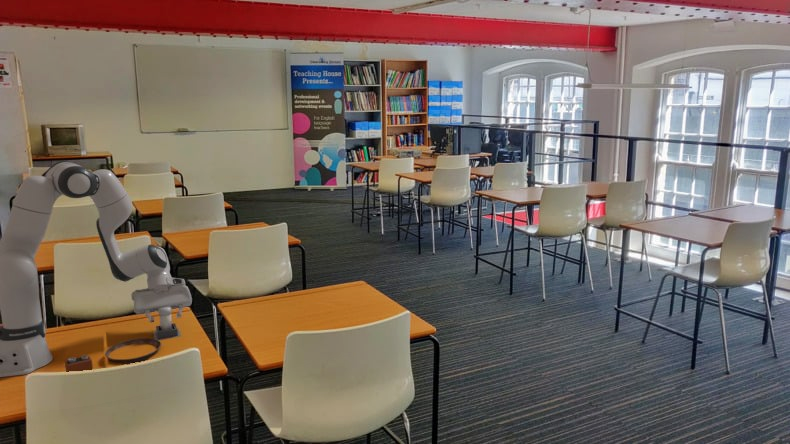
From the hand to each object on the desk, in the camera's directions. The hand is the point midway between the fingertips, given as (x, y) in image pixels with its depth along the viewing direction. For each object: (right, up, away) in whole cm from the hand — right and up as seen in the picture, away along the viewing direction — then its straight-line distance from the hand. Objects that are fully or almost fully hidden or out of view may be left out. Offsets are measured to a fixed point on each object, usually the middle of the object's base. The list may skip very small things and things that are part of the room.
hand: (165, 319), depth 218 cm
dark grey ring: (-5, -11, -14) cm, 18 cm away
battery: (-11, -15, -37) cm, 41 cm away
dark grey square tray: (0, -7, +2) cm, 7 cm away
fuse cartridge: (0, -6, +2) cm, 6 cm away
